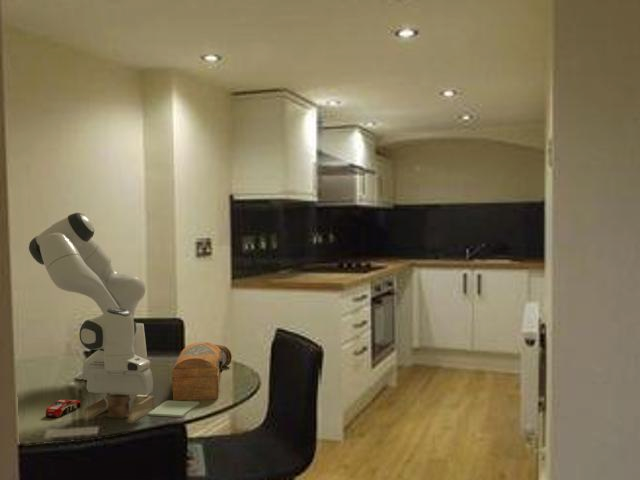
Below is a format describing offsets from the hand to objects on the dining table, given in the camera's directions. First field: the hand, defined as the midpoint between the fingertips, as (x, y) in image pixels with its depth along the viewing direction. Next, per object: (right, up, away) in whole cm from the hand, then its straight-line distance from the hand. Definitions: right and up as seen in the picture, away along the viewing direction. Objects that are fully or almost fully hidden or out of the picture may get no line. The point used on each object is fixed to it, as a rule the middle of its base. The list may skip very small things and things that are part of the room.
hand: (119, 407), depth 188 cm
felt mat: (+15, -2, +5) cm, 16 cm away
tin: (+18, -1, +66) cm, 68 cm away
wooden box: (+18, -2, +31) cm, 36 cm away
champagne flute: (-1, -2, +22) cm, 22 cm away
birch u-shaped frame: (0, -2, 0) cm, 2 cm away
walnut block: (0, -2, 0) cm, 2 cm away
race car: (-18, -3, +3) cm, 19 cm away
